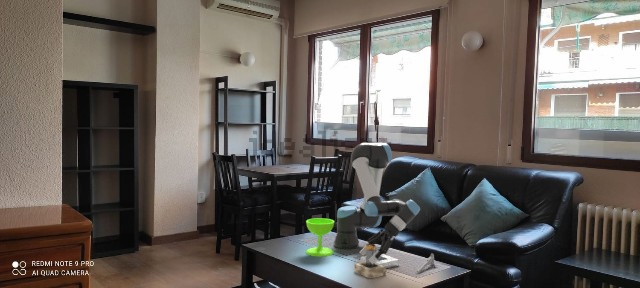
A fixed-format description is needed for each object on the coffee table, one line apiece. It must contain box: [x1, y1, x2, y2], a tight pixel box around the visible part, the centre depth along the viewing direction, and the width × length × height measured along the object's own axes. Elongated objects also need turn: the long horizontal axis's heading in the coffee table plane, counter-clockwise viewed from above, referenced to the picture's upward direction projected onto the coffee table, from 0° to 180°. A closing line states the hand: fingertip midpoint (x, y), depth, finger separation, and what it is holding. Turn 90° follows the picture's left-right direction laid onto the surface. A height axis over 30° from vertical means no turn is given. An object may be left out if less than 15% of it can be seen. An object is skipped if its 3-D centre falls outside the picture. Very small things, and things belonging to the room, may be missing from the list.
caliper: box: [415, 253, 435, 275], centre depth 231 cm, size 20×1×6 cm, turn 143°
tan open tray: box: [353, 261, 387, 279], centre depth 222 cm, size 12×10×4 cm
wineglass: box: [305, 217, 335, 258], centre depth 257 cm, size 16×16×18 cm
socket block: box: [360, 254, 400, 269], centre depth 238 cm, size 14×14×3 cm
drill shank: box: [365, 243, 376, 268], centre depth 222 cm, size 5×5×14 cm
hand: (365, 258), depth 221 cm, fingers open, 13 cm apart
